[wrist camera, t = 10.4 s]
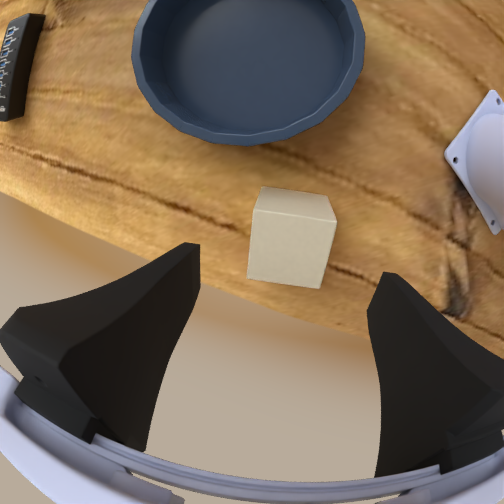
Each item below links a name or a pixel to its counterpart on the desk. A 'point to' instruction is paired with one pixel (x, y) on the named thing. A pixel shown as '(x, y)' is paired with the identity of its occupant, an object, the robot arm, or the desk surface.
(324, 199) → the block
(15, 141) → the desk surface
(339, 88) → the tin
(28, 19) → the multiport hub
